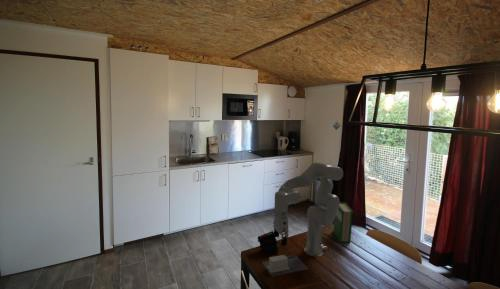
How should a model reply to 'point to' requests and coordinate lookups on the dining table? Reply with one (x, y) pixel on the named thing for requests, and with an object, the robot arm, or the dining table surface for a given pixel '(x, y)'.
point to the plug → (279, 262)
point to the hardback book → (343, 223)
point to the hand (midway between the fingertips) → (280, 241)
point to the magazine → (268, 243)
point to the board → (293, 266)
